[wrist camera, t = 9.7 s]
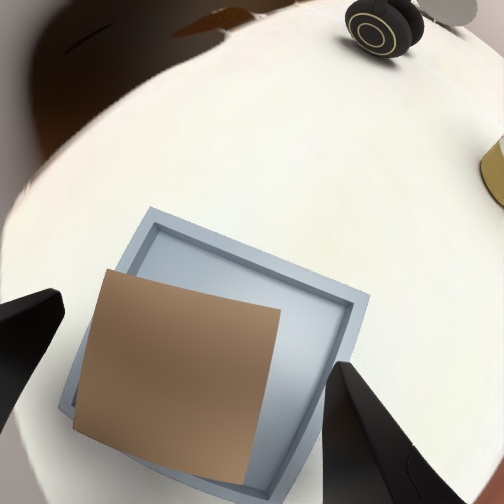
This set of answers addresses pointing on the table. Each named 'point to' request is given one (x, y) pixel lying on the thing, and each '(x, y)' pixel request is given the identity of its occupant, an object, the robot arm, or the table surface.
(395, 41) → the headphones
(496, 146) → the paper tube
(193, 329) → the walnut block
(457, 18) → the alarm clock
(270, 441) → the tray
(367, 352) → the table surface
